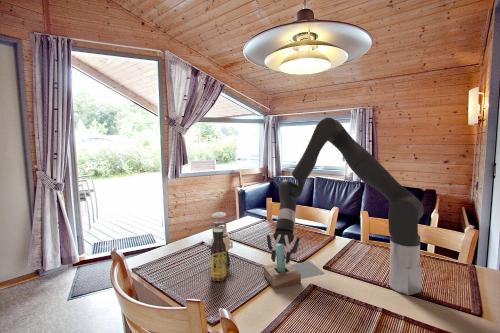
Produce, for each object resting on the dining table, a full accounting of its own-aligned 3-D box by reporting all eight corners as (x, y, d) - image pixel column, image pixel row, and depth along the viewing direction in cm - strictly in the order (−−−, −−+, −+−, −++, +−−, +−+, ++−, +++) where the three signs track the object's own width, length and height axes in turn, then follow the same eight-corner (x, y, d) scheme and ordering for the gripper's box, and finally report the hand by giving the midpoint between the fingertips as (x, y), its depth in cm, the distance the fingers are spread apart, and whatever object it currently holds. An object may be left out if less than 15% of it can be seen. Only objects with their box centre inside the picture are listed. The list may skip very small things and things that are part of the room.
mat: (325, 274, 110) (325, 273, 110) (298, 279, 106) (298, 279, 106) (310, 261, 121) (310, 261, 121) (285, 266, 118) (285, 265, 118)
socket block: (300, 283, 103) (300, 273, 103) (274, 289, 100) (273, 279, 100) (288, 270, 114) (288, 261, 113) (263, 275, 111) (263, 265, 110)
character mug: (208, 265, 121) (206, 236, 120) (217, 258, 127) (215, 231, 126) (229, 269, 116) (228, 240, 115) (237, 262, 123) (236, 234, 121)
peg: (286, 280, 106) (285, 245, 105) (279, 282, 105) (277, 247, 104) (283, 276, 109) (282, 242, 108) (276, 278, 108) (274, 244, 107)
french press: (221, 243, 145) (219, 197, 143) (205, 239, 152) (202, 195, 149) (232, 237, 153) (230, 194, 151) (216, 234, 160) (214, 192, 157)
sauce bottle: (213, 284, 105) (211, 234, 103) (209, 276, 111) (206, 229, 109) (229, 280, 108) (227, 231, 106) (224, 273, 113) (222, 226, 111)
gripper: (267, 216, 114) (260, 256, 104) (302, 218, 109) (297, 260, 99) (271, 224, 119) (264, 263, 109) (303, 227, 115) (300, 267, 105)
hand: (280, 261), depth 104 cm, fingers open, 4 cm apart
